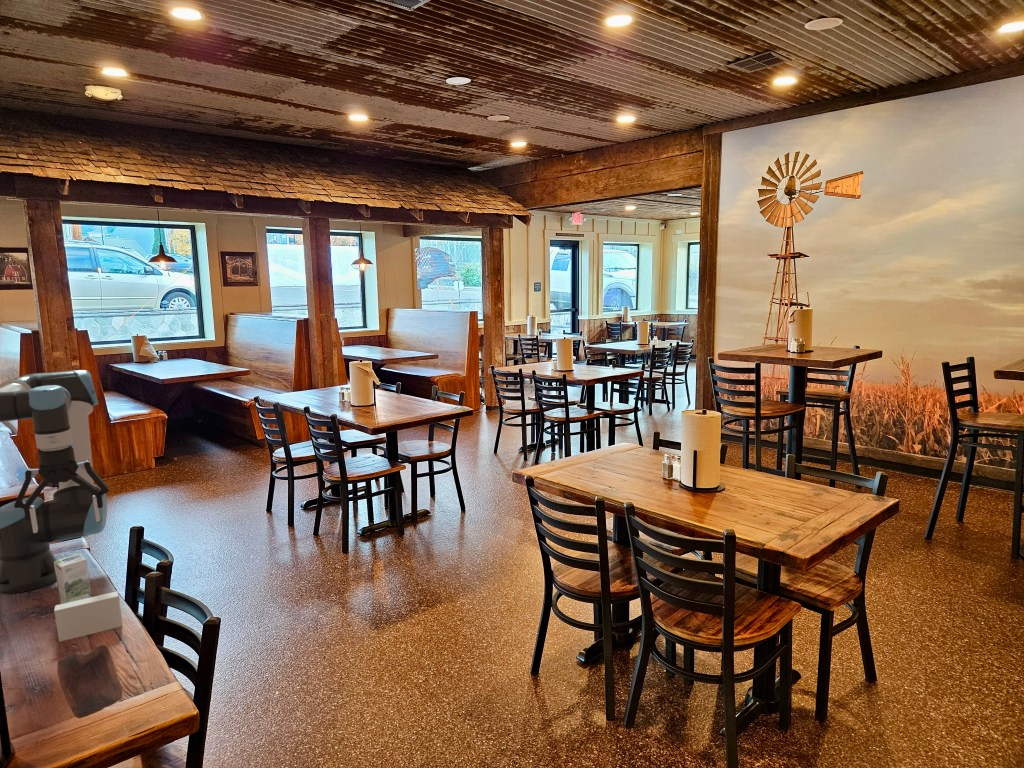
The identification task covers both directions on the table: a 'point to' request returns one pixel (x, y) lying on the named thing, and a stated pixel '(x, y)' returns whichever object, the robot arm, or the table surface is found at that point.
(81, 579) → the syrup box
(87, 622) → the board
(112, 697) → the wooden tablet
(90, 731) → the table surface
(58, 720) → the table surface
